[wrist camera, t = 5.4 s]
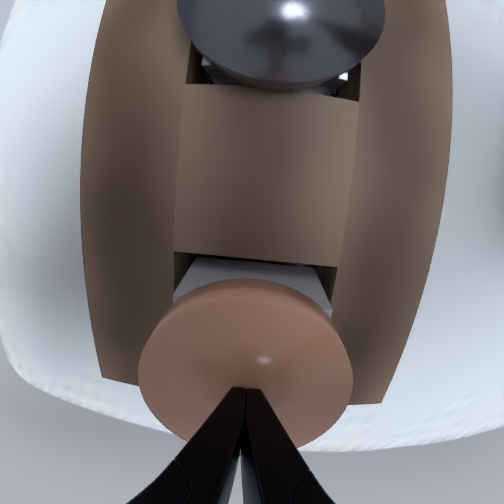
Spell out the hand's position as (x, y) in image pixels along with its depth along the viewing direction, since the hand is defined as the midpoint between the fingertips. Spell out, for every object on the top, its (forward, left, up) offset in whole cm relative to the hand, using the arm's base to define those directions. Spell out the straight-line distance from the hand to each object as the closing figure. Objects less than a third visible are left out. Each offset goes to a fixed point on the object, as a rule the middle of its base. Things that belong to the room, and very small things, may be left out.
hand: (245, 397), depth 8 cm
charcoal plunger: (0, -12, -7) cm, 14 cm away
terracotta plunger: (0, 0, -5) cm, 5 cm away
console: (0, -6, -7) cm, 9 cm away
